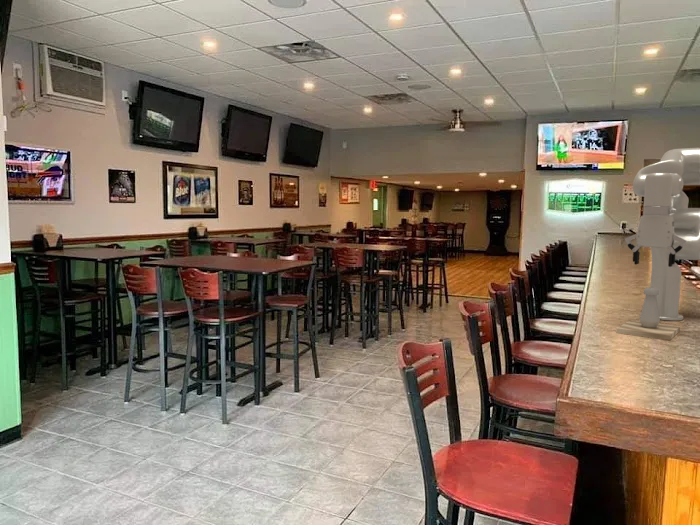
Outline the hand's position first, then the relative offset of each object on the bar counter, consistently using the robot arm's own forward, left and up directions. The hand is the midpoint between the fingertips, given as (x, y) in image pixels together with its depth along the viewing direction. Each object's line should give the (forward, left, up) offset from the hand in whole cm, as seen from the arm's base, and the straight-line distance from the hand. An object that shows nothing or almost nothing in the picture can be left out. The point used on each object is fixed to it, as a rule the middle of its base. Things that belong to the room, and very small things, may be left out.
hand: (653, 265), depth 170 cm
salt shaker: (0, 0, -21) cm, 21 cm away
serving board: (0, 0, -22) cm, 22 cm away
